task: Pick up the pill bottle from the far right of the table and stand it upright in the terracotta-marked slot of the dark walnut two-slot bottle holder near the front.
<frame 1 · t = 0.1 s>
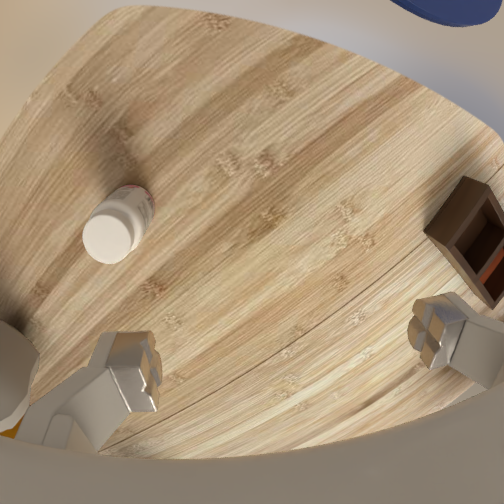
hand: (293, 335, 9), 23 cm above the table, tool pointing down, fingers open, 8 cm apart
orange candle: (22, 410, 41), on the table
pill bottle: (132, 207, 30), on the table
bottle: (23, 334, 35), on the table
holder: (472, 241, 35), on the table
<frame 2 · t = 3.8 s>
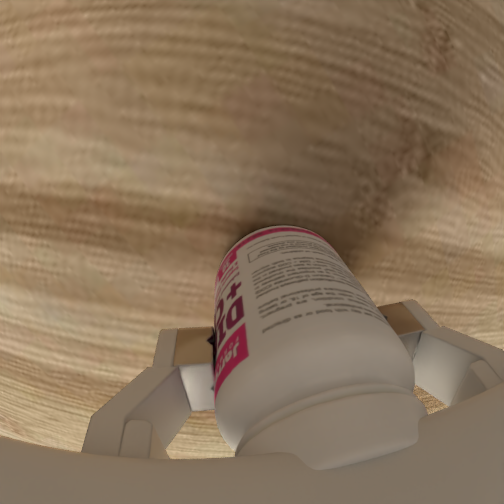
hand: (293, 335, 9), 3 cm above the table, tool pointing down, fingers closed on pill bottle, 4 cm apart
pill bottle: (277, 280, 12), on the table, touching gripper
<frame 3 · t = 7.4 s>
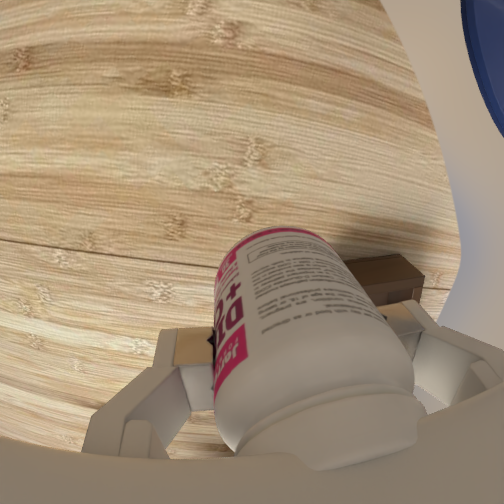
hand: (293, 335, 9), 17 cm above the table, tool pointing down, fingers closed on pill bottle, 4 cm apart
pill bottle: (277, 280, 12), point 14 cm above the table, touching gripper
holder: (349, 333, 31), on the table
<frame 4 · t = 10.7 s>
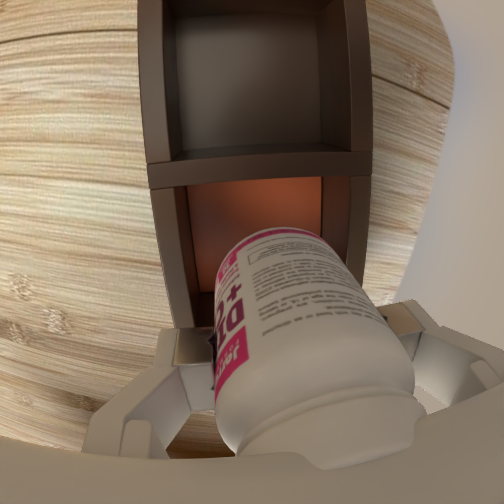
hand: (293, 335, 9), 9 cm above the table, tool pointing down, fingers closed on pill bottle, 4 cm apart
pill bottle: (277, 281, 12), point 6 cm above the table, touching gripper
holder: (252, 153, 16), on the table
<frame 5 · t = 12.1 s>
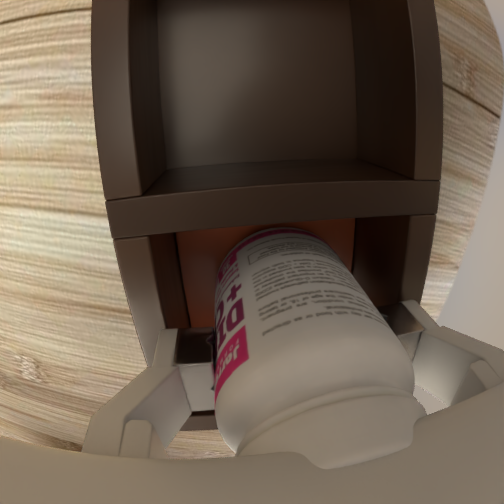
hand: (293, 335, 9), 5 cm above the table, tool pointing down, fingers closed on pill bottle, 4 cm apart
pill bottle: (277, 281, 12), point 1 cm above the table, touching gripper
holder: (263, 171, 12), on the table
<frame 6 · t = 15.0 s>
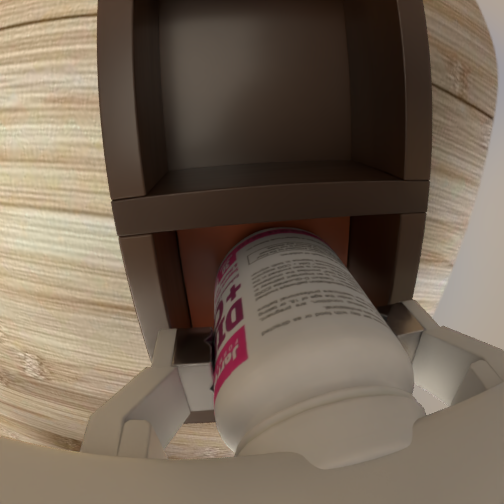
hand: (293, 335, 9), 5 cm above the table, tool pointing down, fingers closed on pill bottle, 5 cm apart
pill bottle: (277, 281, 12), point 2 cm above the table, touching gripper
holder: (261, 173, 12), on the table
when the fingers open (5 cm above the table, at t = 17.7 s): pill bottle drops 1 cm, resting on holder.
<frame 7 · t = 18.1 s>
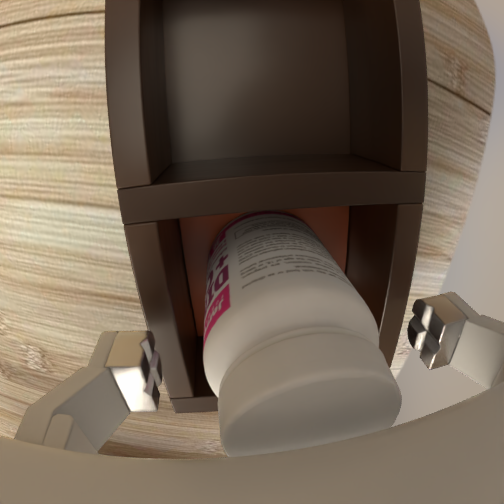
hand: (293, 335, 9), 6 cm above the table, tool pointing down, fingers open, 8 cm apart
pill bottle: (263, 260, 14), point 1 cm above the table, touching holder
holder: (262, 166, 13), on the table
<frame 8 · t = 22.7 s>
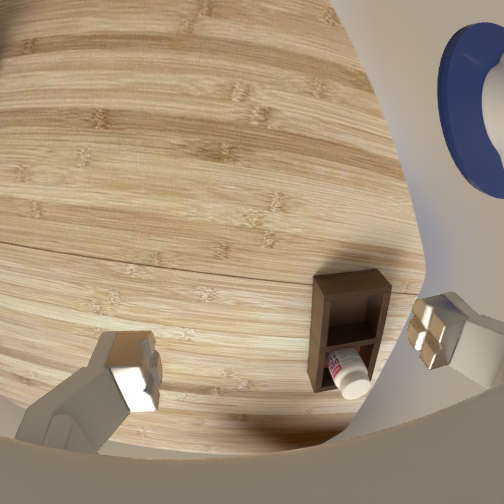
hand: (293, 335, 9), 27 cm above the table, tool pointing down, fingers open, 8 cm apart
pill bottle: (337, 348, 45), point 1 cm above the table, touching holder
holder: (340, 325, 44), on the table
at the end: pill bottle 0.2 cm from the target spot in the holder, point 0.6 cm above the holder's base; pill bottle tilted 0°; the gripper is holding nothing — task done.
